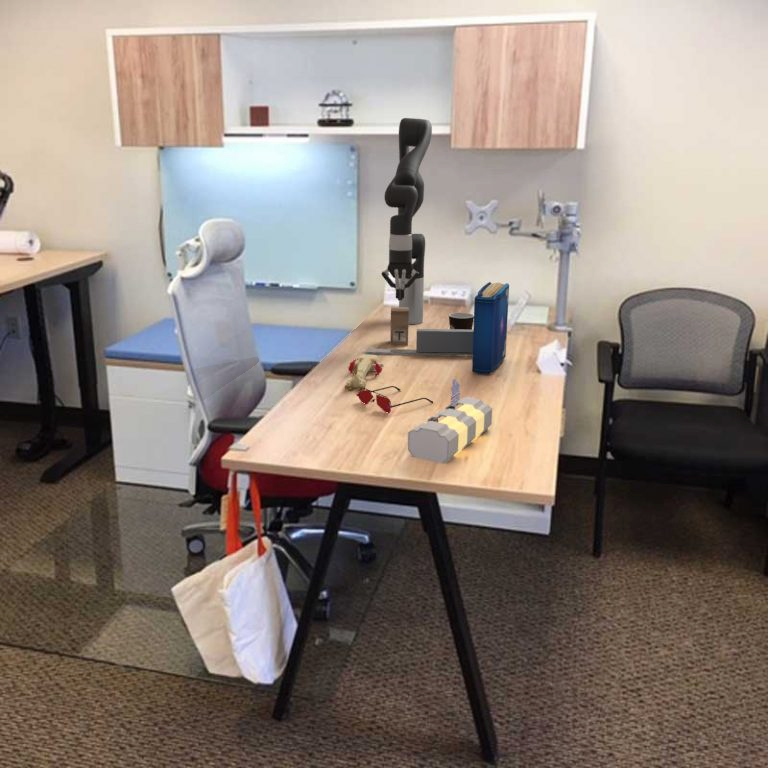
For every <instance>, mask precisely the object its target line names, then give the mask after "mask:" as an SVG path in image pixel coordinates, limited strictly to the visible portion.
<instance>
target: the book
mask: <svg viewBox="0 0 768 768" xmlns="http://www.w3.org/2000/svg"><path fill="white" fill-rule="evenodd" d="M509 295H510V284H509V283H507V282H506V283H505V284H504V283H502V282H494V283H491V281H489V282H487V283H486V284H484V285H483V286H482V287H481V288H480V289H479V290H478V291H477V295H475V297H474V301H473V302H474V306H473V315H474V320H473V330H474V331H473V356H472V364H471V365H472V367H471V372H472V373H475V374H478V375H479V374H480V375H491V374H492V373H493V372H494V371H496V370H497V369H498V368H499V367H500V365H501V364H502V363H503V361H504V360H505V358H506V355H507V354H506V352H507V336H508V335H507V333H508V317H509V314H508V313H509V297H510V296H509Z"/></svg>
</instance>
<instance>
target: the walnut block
mask: <svg viewBox="0 0 768 768" xmlns="http://www.w3.org/2000/svg"><path fill="white" fill-rule="evenodd" d="M408 320H409V307H399V306H391V307H390V344H389V345H390V346H398V345H408V346H409V324H408Z"/></svg>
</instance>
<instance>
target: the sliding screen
mask: <svg viewBox="0 0 768 768" xmlns="http://www.w3.org/2000/svg"><path fill="white" fill-rule="evenodd" d="M473 331H474V329H472V330H464V329H450V328H449V329H448V328H443V329H442V328H416V340H415V341H416V347H415V350H416V352H460V353H473Z"/></svg>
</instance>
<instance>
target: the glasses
mask: <svg viewBox="0 0 768 768" xmlns="http://www.w3.org/2000/svg"><path fill="white" fill-rule="evenodd" d="M389 388H394V389H396V390H398V391H399V390H401V389H400V388H399V387H397V386H395V385H390V386H386V387H382V388H378V389H374V390H371V389H368V388H366V387H365V388H361V389H365V391H361V389H360V392H359V391H358V393H356V395H355V396H356V397H358V399H359V400H360V402H361V403H362V402H363V403H365V404H367V405H368V404H369V403H374V402H375V401H376V406H378V407H379V408H380V409H381V410H383V412H385V413H386V412H388V413H389V414H390V412H391V411H392V410H391V408H396V407H400V406H402V405H406V404H410V403H413V402H417V401H421V400H426V401H428V402H429V403H431V404H434V403H433V402H434V401H433V400H431V399H429V398H427V397H421V398H417V399H413V400H409V401H406V402H402V403H398V404H394V405H392V401H391V399H390V398H389V397H387V396H385V395H383V394H381V393H378V392H377V391H382V390H386V389H389ZM372 393H373V394H376V395H375V397H376V399H375V398H374V396H373V394H372ZM363 403H362V404H363ZM365 404H364V405H365Z"/></svg>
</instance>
